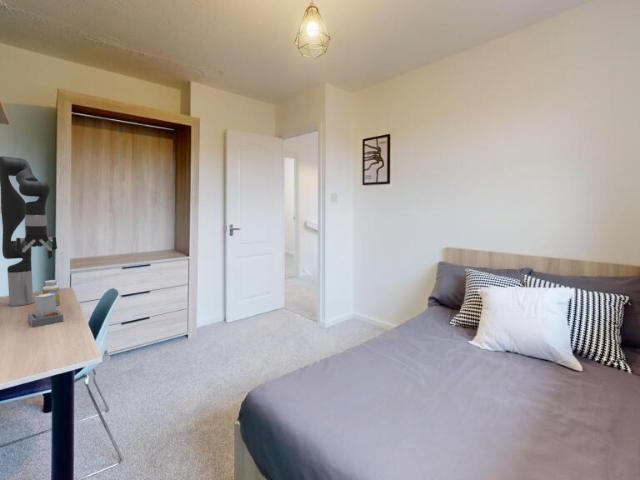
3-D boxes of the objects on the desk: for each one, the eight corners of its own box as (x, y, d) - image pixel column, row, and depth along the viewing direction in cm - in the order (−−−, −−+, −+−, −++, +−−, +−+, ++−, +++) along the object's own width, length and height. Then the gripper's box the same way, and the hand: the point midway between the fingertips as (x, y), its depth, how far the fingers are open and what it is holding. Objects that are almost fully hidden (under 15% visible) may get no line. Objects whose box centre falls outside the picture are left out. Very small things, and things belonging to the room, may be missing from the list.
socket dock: (28, 321, 142) (27, 314, 142) (57, 316, 150) (57, 309, 150) (32, 327, 136) (32, 320, 136) (63, 321, 144) (63, 314, 143)
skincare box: (43, 323, 140) (41, 296, 139) (35, 323, 141) (34, 296, 140) (57, 319, 146) (56, 293, 145) (49, 318, 147) (48, 293, 146)
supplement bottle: (43, 304, 167) (42, 280, 166) (59, 302, 172) (58, 279, 171) (43, 307, 162) (42, 282, 161) (60, 305, 167) (59, 281, 166)
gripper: (53, 224, 156) (55, 257, 158) (13, 224, 145) (15, 259, 147) (57, 225, 151) (58, 259, 153) (16, 225, 140) (17, 262, 142)
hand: (37, 259), depth 150 cm, fingers open, 8 cm apart
